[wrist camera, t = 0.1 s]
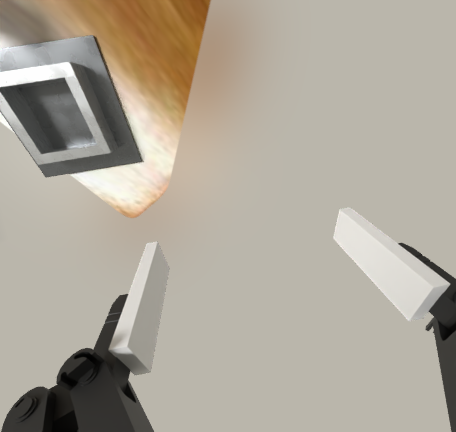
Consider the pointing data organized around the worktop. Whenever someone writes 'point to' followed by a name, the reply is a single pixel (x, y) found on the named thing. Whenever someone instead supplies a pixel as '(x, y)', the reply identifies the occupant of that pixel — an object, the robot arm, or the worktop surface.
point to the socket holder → (64, 106)
